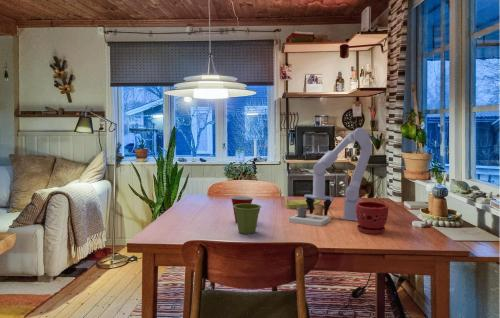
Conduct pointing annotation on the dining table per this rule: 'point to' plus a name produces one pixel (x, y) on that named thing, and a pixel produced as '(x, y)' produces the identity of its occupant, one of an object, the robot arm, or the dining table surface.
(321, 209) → the tan rubber stopper
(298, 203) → the plastic component
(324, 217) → the housing
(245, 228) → the plant pot
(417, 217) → the dining table surface
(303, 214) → the charcoal flared cup
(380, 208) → the plant pot
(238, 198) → the plastic cup
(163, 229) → the dining table surface
